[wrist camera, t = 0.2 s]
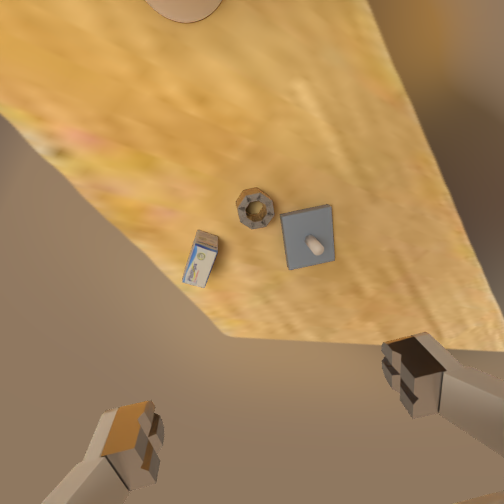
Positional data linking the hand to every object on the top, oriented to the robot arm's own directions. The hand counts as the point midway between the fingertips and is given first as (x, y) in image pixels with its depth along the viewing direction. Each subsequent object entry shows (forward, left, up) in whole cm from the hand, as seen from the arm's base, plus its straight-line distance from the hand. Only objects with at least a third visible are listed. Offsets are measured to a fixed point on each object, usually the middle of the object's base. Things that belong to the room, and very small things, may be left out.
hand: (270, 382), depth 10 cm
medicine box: (+13, -8, -48) cm, 50 cm away
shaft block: (+15, +14, -47) cm, 51 cm away
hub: (+6, +4, -47) cm, 48 cm away
